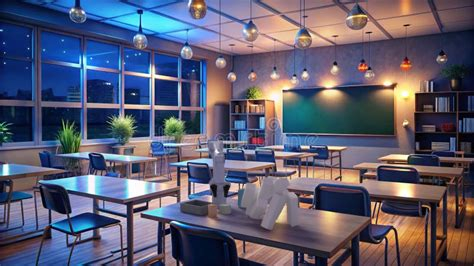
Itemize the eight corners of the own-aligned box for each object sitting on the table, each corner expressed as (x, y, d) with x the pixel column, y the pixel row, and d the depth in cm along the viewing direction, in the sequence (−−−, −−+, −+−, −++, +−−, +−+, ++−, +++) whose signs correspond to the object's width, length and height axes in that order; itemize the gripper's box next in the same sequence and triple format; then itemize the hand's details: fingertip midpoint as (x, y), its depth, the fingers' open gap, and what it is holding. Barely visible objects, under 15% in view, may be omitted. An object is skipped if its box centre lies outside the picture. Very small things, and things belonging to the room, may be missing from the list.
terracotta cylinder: (212, 215, 218) (212, 203, 218) (218, 216, 215) (218, 204, 215) (206, 217, 214) (206, 204, 214) (212, 218, 211) (212, 206, 211)
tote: (196, 207, 238) (196, 199, 238) (216, 211, 227) (216, 203, 227) (180, 211, 227) (180, 203, 227) (200, 215, 216) (200, 207, 216)
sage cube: (224, 211, 227) (224, 203, 226) (230, 213, 223) (230, 204, 223) (219, 213, 223) (219, 205, 222) (225, 214, 220) (225, 206, 219)
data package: (256, 209, 233) (256, 190, 233) (252, 210, 230) (252, 191, 229) (242, 206, 241) (242, 187, 240) (237, 207, 237) (237, 188, 237)
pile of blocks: (225, 232, 203) (226, 180, 185) (251, 201, 225) (255, 153, 208) (283, 260, 188) (291, 207, 170) (305, 224, 210) (314, 174, 193)
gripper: (213, 173, 217) (214, 196, 214) (233, 174, 225) (234, 196, 222) (206, 174, 222) (207, 197, 219) (226, 175, 231) (227, 197, 228)
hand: (220, 197), depth 221 cm, fingers open, 7 cm apart
